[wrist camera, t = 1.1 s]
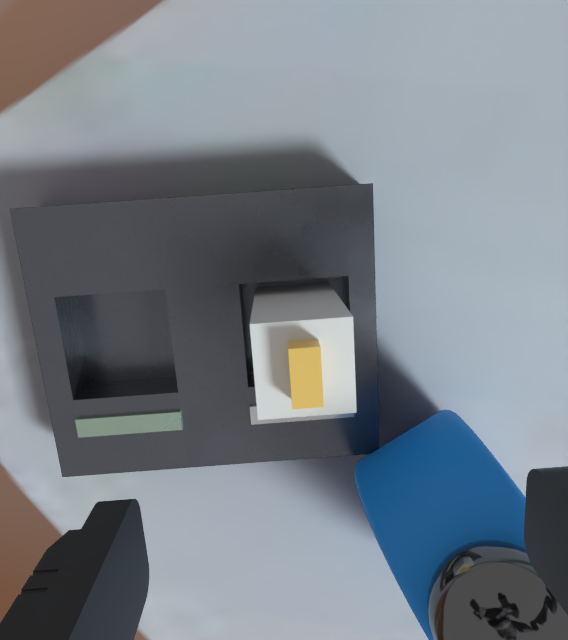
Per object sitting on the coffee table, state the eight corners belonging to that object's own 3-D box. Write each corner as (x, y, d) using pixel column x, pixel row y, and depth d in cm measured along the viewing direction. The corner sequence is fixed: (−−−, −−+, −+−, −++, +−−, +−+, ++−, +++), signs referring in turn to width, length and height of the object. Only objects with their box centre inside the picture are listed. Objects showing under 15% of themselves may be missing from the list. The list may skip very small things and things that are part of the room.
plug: (329, 282, 27) (357, 323, 18) (332, 353, 28) (360, 423, 19) (255, 288, 27) (248, 330, 18) (261, 358, 28) (257, 431, 19)
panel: (361, 185, 26) (373, 183, 23) (368, 427, 29) (380, 455, 26) (39, 207, 26) (7, 209, 23) (83, 449, 29) (60, 479, 26)
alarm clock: (523, 530, 31) (744, 816, 17) (440, 577, 32) (581, 892, 18) (421, 369, 29) (578, 546, 14) (331, 425, 29) (393, 649, 15)
